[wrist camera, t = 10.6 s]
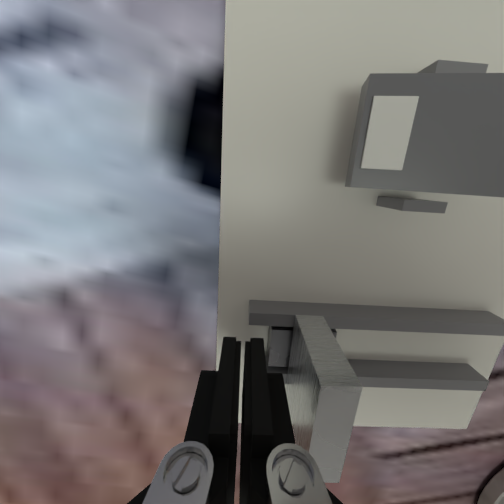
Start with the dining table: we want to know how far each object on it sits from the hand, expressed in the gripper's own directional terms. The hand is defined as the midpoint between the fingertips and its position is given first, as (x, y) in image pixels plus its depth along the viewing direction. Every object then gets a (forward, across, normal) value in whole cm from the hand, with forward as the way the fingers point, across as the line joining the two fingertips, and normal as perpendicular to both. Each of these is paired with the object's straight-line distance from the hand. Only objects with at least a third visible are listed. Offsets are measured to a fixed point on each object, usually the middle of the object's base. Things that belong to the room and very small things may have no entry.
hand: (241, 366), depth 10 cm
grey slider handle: (+2, -3, 0) cm, 4 cm away
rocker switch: (+1, -6, -9) cm, 11 cm away
